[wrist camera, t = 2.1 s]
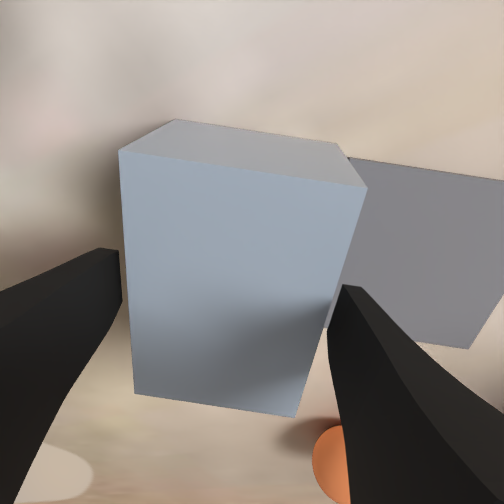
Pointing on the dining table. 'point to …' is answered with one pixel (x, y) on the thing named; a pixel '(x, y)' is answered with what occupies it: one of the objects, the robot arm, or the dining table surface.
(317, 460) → the ball
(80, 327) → the robot arm
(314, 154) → the pale grey-blue block
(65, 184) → the dining table surface
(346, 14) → the dining table surface
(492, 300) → the tape square
